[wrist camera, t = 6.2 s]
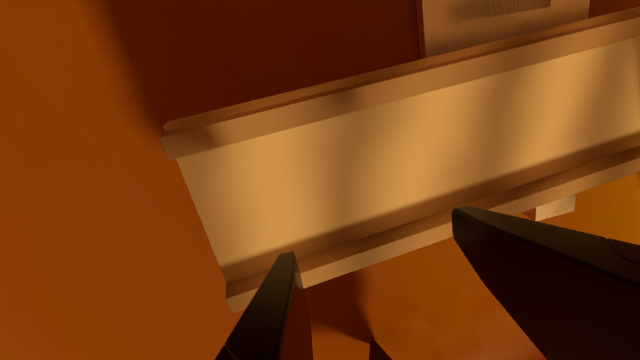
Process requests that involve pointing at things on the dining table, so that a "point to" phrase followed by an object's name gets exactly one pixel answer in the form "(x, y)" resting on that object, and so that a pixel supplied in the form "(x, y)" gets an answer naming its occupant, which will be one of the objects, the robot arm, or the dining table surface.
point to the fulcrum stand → (494, 39)
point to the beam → (411, 150)
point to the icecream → (377, 352)
